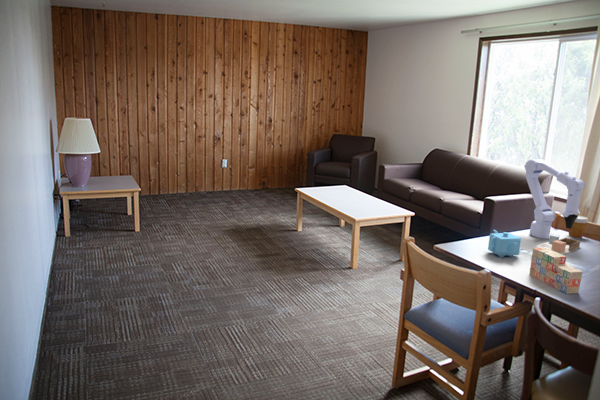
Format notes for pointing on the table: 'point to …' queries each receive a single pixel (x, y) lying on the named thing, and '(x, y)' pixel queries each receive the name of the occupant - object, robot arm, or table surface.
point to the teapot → (504, 244)
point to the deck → (555, 251)
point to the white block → (553, 238)
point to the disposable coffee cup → (578, 227)
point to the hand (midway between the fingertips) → (568, 228)
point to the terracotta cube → (558, 246)
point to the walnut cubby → (571, 243)
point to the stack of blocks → (555, 270)
